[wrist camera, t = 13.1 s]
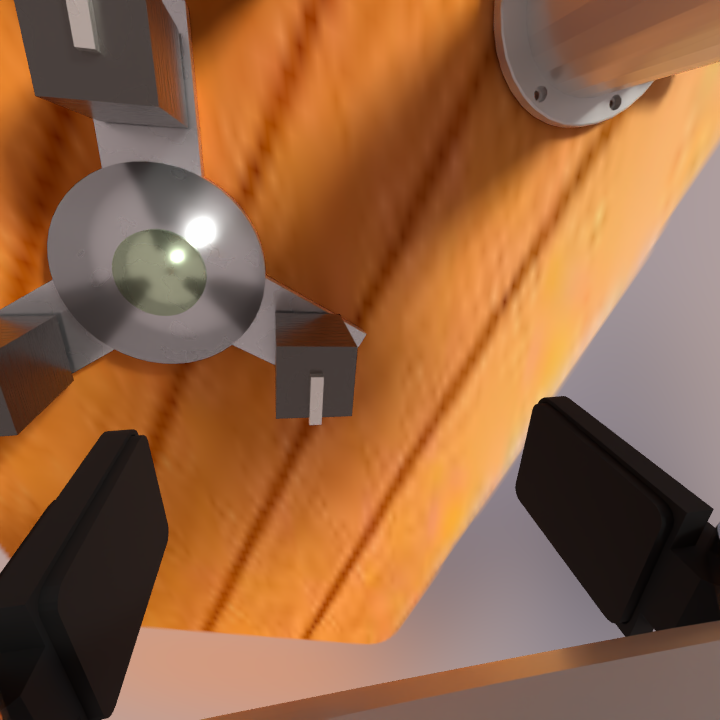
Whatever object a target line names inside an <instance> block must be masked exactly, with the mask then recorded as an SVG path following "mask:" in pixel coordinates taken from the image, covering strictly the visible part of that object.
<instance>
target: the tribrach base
mask: <svg viewBox="0 0 720 720" xmlns="http://www.w3.org/2000/svg"><path fill="white" fill-rule="evenodd" d="M162 2H163V4H164V5H165V7H166V9H167V10H168V12H169V14H170V16H171V17H172V19H173V21H174V22H175V24H176V26H177V28H178V29H179V39H180V49H181V59H182V69H183V79H184V88H185V98H186V108H187V118H188V128H178V127H166V126H153V125H140V124H128V123H115V122H102V121H98V120H95V119H93V121H94V126H95V132H96V137H97V143H98V149H99V154H100V160H101V165H102V169H99V170H97V171H95V172H93V173H91V174H89V175H88V176H86V177H85V178H83V179H82V180H80V181H79V182H78V183H76V184H75V185H74V186H73V187H72V188H71V189H70V190H69V191H68V192H67V194H66V195H65V196H64V198H63V199H62V200H61V202H60V203H59V205H58V207H57V209H56V211H55V213H54V215H53V218H52V221H51V225H50V228H49V234H48V241H47V252H48V262H49V268H50V272H51V276H52V279H53V280H51V281H50V282H48V283H46V284H44V285H43V286H41V287H39V288H37V289H36V290H34V291H32V292H30V293H29V294H27V295H25V296H23V297H22V298H20V299H18V300H16V301H15V302H13V303H11V304H9V305H8V306H6V307H4V308H3V309H1V310H0V316H46V315H56V316H57V320H58V324H59V327H60V331H61V335H62V339H63V342H64V346H65V350H66V354H67V357H68V361H69V365H70V369H71V372H72V373H74V372H76V371H77V370H79V369H81V368H83V367H84V366H86V365H88V364H90V363H91V362H93V361H95V360H97V359H98V358H100V357H102V356H104V355H106V354H107V353H109V352H111V351H113V350H114V349H115V350H117V351H119V352H121V353H123V354H126V355H129V356H131V357H134V358H137V359H141V360H145V361H149V362H156V363H167V364H178V363H189V362H194V361H198V360H202V359H205V358H208V357H211V356H213V355H215V354H217V353H219V352H222V351H223V350H225V349H226V348H228V347H229V346H231V345H234V346H236V347H238V348H240V349H242V350H244V351H246V352H248V353H251V354H253V355H255V356H257V357H259V358H261V359H263V360H265V361H267V362H269V363H272V364H274V365H275V313H309V314H334V313H333V312H331V311H329V310H327V309H325V308H324V307H322V306H320V305H318V304H317V303H315V302H313V301H311V300H309V299H308V298H306V297H304V296H302V295H301V294H299V293H297V292H295V291H293V290H292V289H290V288H288V287H286V286H284V285H283V284H281V283H279V282H277V281H276V280H274V279H272V278H270V277H268V276H267V275H265V274H266V267H265V258H264V253H263V249H262V244H261V242H260V239H259V236H258V234H257V232H256V230H255V228H254V226H253V224H252V222H251V220H250V219H249V217H248V216H247V214H246V213H245V212H244V210H243V209H242V208H241V207H240V205H239V204H238V203H237V202H236V201H235V200H234V199H233V198H232V197H231V196H230V195H229V194H228V193H227V192H225V191H224V190H223V189H222V188H220V187H219V186H217V185H216V184H215V183H213V182H212V181H210V180H208V179H206V178H205V177H204V170H203V159H202V148H201V137H200V126H199V115H198V104H197V93H196V83H195V72H194V61H193V50H192V39H191V28H190V17H189V8H188V6H187V4H186V2H185V1H184V0H162ZM342 319H343V318H342ZM343 321H344V323H345V325H346V326H347V328H348V330H349V332H350V334H351V336H352V337H353V339H354V341H355V343H356V345H357V347H359V345H360V344H361V342H362V341H363V339H364V337H365V336H366V333H365V331H364V330H363V329H361V328H359V327H358V326H356V325H354V324H352V323H350V322H349V321H347V320H345V319H343Z"/></svg>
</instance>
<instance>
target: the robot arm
mask: <svg viewBox="0 0 720 720" xmlns="http://www.w3.org/2000/svg"><path fill="white" fill-rule="evenodd" d="M494 35H495V44H496V52H497V55H498V59H499V63H500V67H501V70H502V73H503V75H504V78H505V80H506V82H507V84H508V86H509V88H510V90H511V92H512V93H513V95H514V96H515V97H516V99H517V100H518V101H519V103H520V104H521V106H522V107H524V108H525V109H526V110H527V111H528V112H529V113H530V114H532V115H533V116H534V117H535V118H537V119H539V120H541V121H543V122H545V123H547V124H550V125H554V126H558V127H563V128H573V127H583V126H588V125H593V124H597V123H600V122H603V121H605V120H608V119H610V118H613V117H614V116H616V115H617V114H619V113H621V112H622V111H624V110H625V109H627V108H628V107H630V106H631V105H632V104H633V103H634V102H635V101H636V100H637V99H639V98H640V97H641V96H642V95H643V94H644V93H645V92H646V90H647V89H648V88H649V87H650V85H651V84H652V83H653V82H654V81H655V80H657V79H661V78H664V77H668V76H671V75H675V74H678V73H682V72H685V71H689V70H692V69H696V68H699V67H703V66H706V65H710V64H713V63H717V62H720V0H495V3H494ZM534 94H535V98H534ZM515 488H516V494H517V497H518V499H519V500H520V502H521V503H522V505H523V506H524V507H525V508H526V510H527V511H528V513H529V514H530V515H531V517H532V518H533V519H534V521H535V522H536V523H537V525H538V526H539V528H540V529H541V530H542V531H543V533H544V534H545V535H546V537H547V539H548V540H549V541H550V543H551V544H552V545H553V547H554V548H555V549H556V551H557V552H558V553H559V555H560V556H561V557H562V559H563V560H564V562H565V563H566V564H567V566H568V567H569V568H570V570H571V571H572V572H573V574H574V575H575V577H577V579H578V581H579V582H580V583H581V585H582V586H583V587H584V589H585V590H586V591H587V593H588V594H589V596H590V597H591V598H592V600H593V601H594V602H595V604H596V605H597V606H598V608H599V609H600V610H601V612H602V613H603V614H604V616H605V617H606V618H607V619H608V620H609V621H610V622H612V623H615V624H616V625H617V626H618V627H619V629H620V630H621V631H622V633H623V634H624V635H625V637H623V638H617V639H612V640H606V641H601V642H596V643H590V644H585V645H580V646H575V647H569V648H563V649H558V650H553V651H548V652H542V653H537V654H532V655H527V656H522V657H516V658H511V659H506V660H501V661H495V662H491V663H486V664H480V665H475V666H469V667H464V668H459V669H454V670H449V671H444V672H438V673H434V674H428V675H424V676H418V677H413V678H408V679H402V680H398V681H392V682H387V683H382V684H377V685H372V686H366V687H362V688H356V689H351V690H346V691H341V692H336V693H332V694H327V695H322V696H316V697H311V698H306V699H301V700H297V701H292V702H287V703H281V704H276V705H271V706H266V707H262V708H256V709H251V710H246V711H241V712H236V713H231V714H227V715H221V716H216V717H211V718H207V719H202V720H720V523H719V524H718V525H717V527H716V528H715V527H713V526H712V525H711V524H710V523H708V522H707V521H708V519H709V517H710V515H711V513H712V511H713V508H711V507H710V506H709V505H707V504H706V503H705V502H704V501H702V500H701V499H700V498H698V497H697V496H696V495H694V494H693V493H692V492H690V491H689V490H688V489H687V488H685V487H684V486H683V485H681V484H680V483H679V482H678V481H676V480H675V479H674V478H672V477H671V476H670V475H668V474H667V473H666V472H664V471H663V470H662V469H661V468H659V467H658V466H656V465H655V464H654V463H653V462H651V461H650V460H649V459H648V458H646V457H645V456H644V455H642V454H641V453H640V452H638V451H637V450H636V449H634V448H633V447H632V446H631V445H629V444H628V443H627V442H625V441H624V440H623V439H621V438H620V437H619V436H617V435H616V434H615V433H614V432H612V431H611V430H610V429H608V428H607V427H606V426H604V425H603V424H602V423H600V422H599V421H598V420H597V419H595V418H594V417H593V416H591V415H590V414H589V413H588V412H586V411H585V410H583V409H582V408H581V407H580V406H578V405H577V404H576V403H574V402H573V401H572V400H571V399H569V398H567V397H566V396H561V397H547V398H542V399H541V400H540V401H539V402H538V404H536V405H535V406H534V407H533V410H532V415H531V419H530V423H529V428H528V432H527V437H526V441H525V445H524V450H523V454H522V459H521V464H520V468H519V473H518V476H517V481H516V487H515ZM167 541H168V523H167V519H166V515H165V510H164V506H163V502H162V498H161V494H160V490H159V485H158V481H157V477H156V473H155V469H154V464H153V460H152V456H151V452H150V448H149V443H148V440H147V438H146V436H145V435H138V433H137V431H136V430H134V429H132V430H119V431H107V432H104V433H103V434H102V435H101V436H100V438H99V439H98V441H97V442H96V444H95V445H94V446H93V448H92V449H91V451H90V452H89V453H88V455H87V456H86V458H85V459H84V461H83V462H82V463H81V465H80V466H79V468H78V469H77V470H76V472H75V473H74V475H73V476H72V478H71V479H70V480H69V482H68V483H67V485H66V486H65V487H64V489H63V490H62V492H61V493H60V495H59V496H58V497H57V499H56V500H54V501H53V502H52V503H51V504H50V505H49V506H48V507H47V509H46V510H45V512H44V513H43V514H42V516H41V517H40V519H39V520H38V521H37V523H36V524H35V526H34V527H33V528H32V530H31V531H30V533H29V534H28V535H27V537H26V538H25V540H24V541H23V542H22V544H21V545H20V546H19V548H18V549H17V551H16V552H15V553H14V555H13V556H12V558H11V559H10V560H9V562H8V563H7V565H6V566H5V567H4V569H3V570H2V572H1V573H0V720H102V719H106V718H109V717H110V716H111V714H112V712H113V711H114V708H115V706H116V703H117V699H118V696H119V693H120V690H121V687H122V684H123V681H124V677H125V674H126V671H127V668H128V665H129V662H130V658H131V655H132V652H133V649H134V646H135V643H136V640H137V636H138V633H139V630H140V627H141V624H142V621H143V617H144V614H145V611H146V608H147V605H148V602H149V598H150V595H151V592H152V589H153V586H154V583H155V580H156V576H157V573H158V570H159V567H160V564H161V561H162V557H163V554H164V551H165V548H166V545H167ZM653 629H655V630H656V631H655V632H652V631H653Z"/></svg>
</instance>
